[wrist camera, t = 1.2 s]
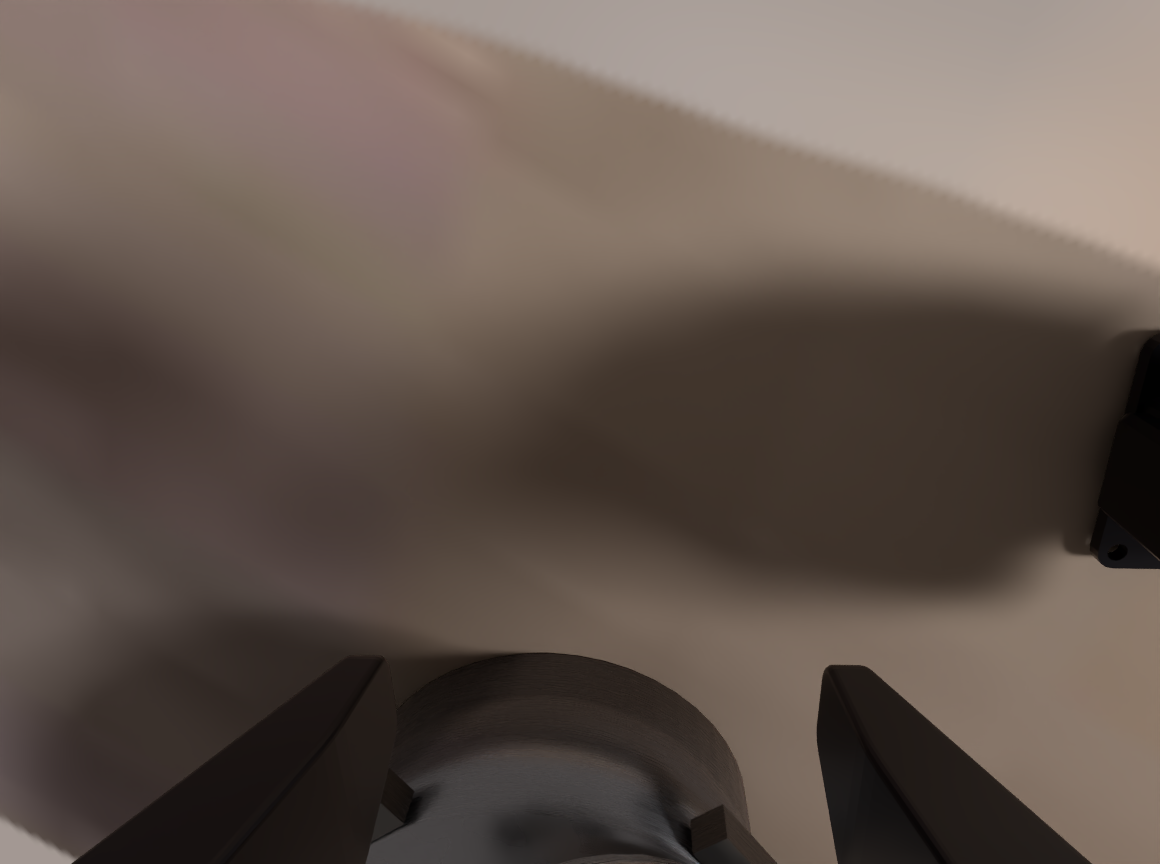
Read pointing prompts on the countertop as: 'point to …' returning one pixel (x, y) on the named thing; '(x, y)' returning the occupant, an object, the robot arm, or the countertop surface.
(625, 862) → the cooker lid
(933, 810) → the robot arm
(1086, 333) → the countertop surface
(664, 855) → the cooker pot
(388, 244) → the countertop surface
